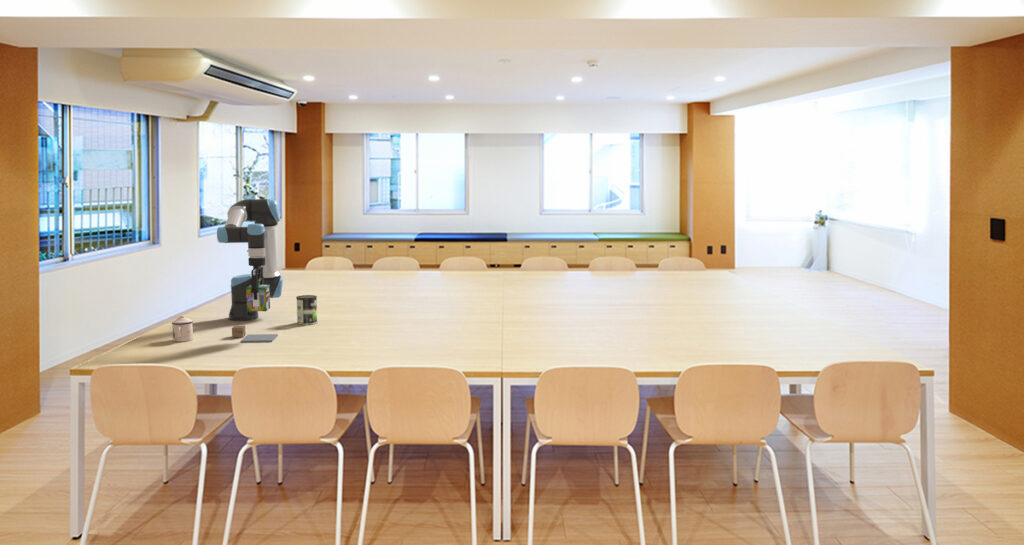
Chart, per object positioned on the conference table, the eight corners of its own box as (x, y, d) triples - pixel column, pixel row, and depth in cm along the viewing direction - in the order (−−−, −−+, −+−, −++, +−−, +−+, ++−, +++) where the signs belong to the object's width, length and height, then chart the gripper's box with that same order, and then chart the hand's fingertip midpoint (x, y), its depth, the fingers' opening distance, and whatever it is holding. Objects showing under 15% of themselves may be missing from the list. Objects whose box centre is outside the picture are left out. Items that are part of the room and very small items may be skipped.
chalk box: (251, 308, 373) (249, 277, 371) (270, 308, 374) (269, 277, 372) (246, 311, 364) (245, 280, 362) (266, 311, 364) (265, 280, 363)
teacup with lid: (175, 338, 371) (174, 313, 370) (195, 337, 373) (194, 313, 371) (168, 343, 360) (167, 318, 358) (189, 343, 361) (188, 318, 359)
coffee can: (320, 321, 414) (320, 295, 412) (312, 325, 404) (311, 298, 402) (302, 320, 416) (301, 294, 414) (293, 324, 406) (292, 297, 404)
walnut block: (235, 335, 378) (234, 325, 377) (245, 335, 378) (245, 325, 377) (232, 338, 373) (231, 327, 372) (243, 338, 373) (242, 327, 373)
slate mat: (248, 336, 377) (248, 334, 377) (277, 335, 378) (277, 334, 378) (240, 342, 363) (240, 340, 363) (271, 342, 364) (271, 340, 364)
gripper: (253, 254, 376) (255, 300, 379) (242, 259, 354) (244, 308, 357) (269, 254, 377) (271, 300, 379) (259, 259, 355) (261, 308, 358)
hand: (258, 304), depth 368 cm, fingers closed on chalk box, 9 cm apart
